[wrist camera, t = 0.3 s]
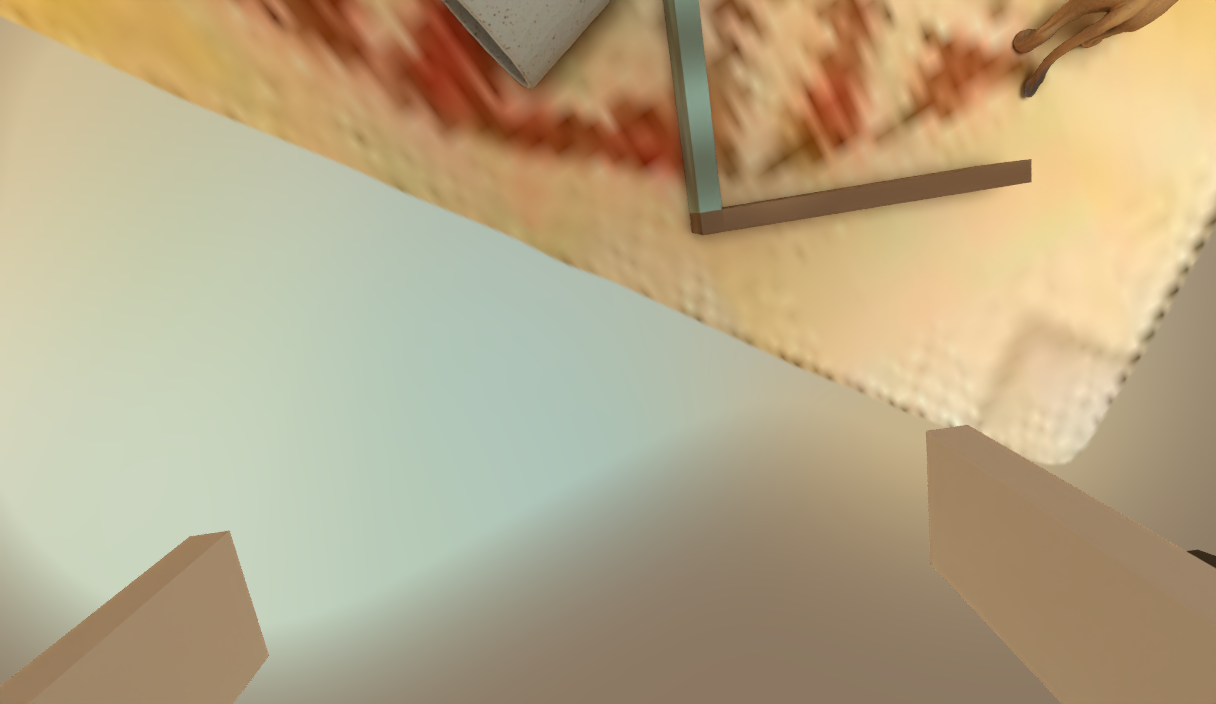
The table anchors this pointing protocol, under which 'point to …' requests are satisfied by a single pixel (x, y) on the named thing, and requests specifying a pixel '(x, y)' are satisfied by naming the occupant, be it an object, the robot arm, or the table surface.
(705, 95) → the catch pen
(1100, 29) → the lion figurine
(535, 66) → the ceramic mug
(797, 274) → the table surface
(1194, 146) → the table surface
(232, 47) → the table surface
